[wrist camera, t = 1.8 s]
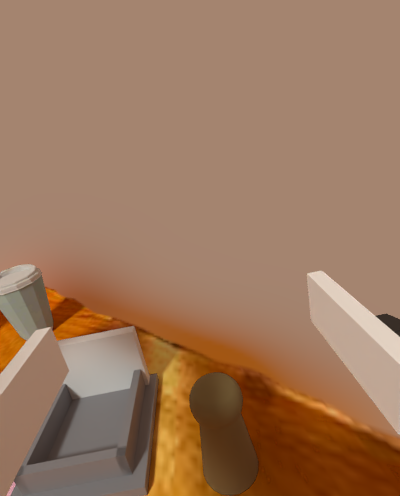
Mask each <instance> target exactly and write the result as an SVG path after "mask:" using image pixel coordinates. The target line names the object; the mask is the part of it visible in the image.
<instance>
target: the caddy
mask: <svg viewBox="0 0 400 496" xmlns="http://www.w3.org/2000/svg"><path fill="white" fill-rule="evenodd" d="M57 343H58V345H59V347H60V350H61V352H62V355H63V357H64V359H65V362H66V364H67V366H68V369H69V372H68V374H67V376H66V378H65V380H64V382H63V384H62V386H61V388H60V390H59V392H58V394H57V396H56V398H55V400H54V402H53V404H52V406H51V408H50V410H49V412H48V414H47V416H46V418H45V420H44V422H43V424H42V425H41V427H40V429H39V431H38V433H37V435H36V437H35V439H34V441H33V443H32V445H31V447H30V449H29V451H28V453H27V455H26V457H25V459H24V461H23V463H22V465H21V467H20V469H19V471H18V473H17V475H16V477H15V479H14V482H15V483H16V486H15V488H14V490H13V492H12V494H11V496H144V495H147V493H148V483H149V473H150V463H151V452H152V442H153V432H154V422H155V411H156V401H157V391H158V381H159V379H158V376H157V373H156V374H151V375H149V372H148V369H147V365H146V362H145V359H144V356H143V353H142V349H141V346H140V343H139V340H138V336H137V333H136V330H135V327H134V326H130V327H125V328H120V329H115V330H110V331H105V332H100V333H95V334H90V335H85V336H80V337H75V338H70V339H65V340H60V341H57Z"/></svg>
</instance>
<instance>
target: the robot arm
mask: <svg viewBox="0 0 400 496" xmlns="http://www.w3.org/2000/svg"><path fill="white" fill-rule="evenodd" d="M307 282H308V293H309V304H310V316H311V321H312V322H313V324H314V325H315V326H316V328H317V329H318V330H319V332H320V333H321V334H322V335H323V337H324V338H325V339H326V341H327V342H328V343H329V345H330V346H331V347H332V349H333V350H334V351H335V352H336V353H337V355H338V356H339V358H340V359H341V360H342V362H343V363H344V364H345V366H346V367H347V368H348V369H349V371H350V372H351V373H352V375H353V376H354V377H355V379H356V380H357V381H358V382H359V384H360V385H361V386H362V388H363V389H364V390H365V392H366V393H367V394H368V396H369V397H370V398H371V400H372V401H373V402H374V403H375V404H376V406H377V407H378V409H379V410H380V411H381V413H382V414H383V415H384V416H385V418H386V419H387V420H388V422H389V423H390V424H391V426H392V427H393V428H394V430H395V431H396V432H397V433H398V434H400V319H398V318H395V317H393V316H391V315H388V314H382V315H378V316H374V315H373V314H372V313H371V312H370V311H369V310H367V309H366V308H365V307H364V306H363V305H362V304H360V303H359V302H358V301H357V300H356V299H354V298H353V297H352V296H351V295H350V294H349V293H348V292H346V291H345V290H344V289H343V288H342V287H340V286H339V285H338V284H337V283H336V282H335V281H333V280H332V279H331V278H330V277H329V276H328V275H326V274H325V273H324V272H323V271H318V272H313V273H308V274H307ZM68 372H69V369H68V366H67V364H66V362H65V359H64V357H63V355H62V352H61V350H60V347H59V345H58V343H57V340H56V338H55V336H54V333H53V331H52V329H51V327H48V328H43V329H39V330H36V331H35V332H34V333H33V334H32V336H31V337H30V338H29V339H28V341H27V342H26V343H25V344H24V345H23V347H22V348H21V349H20V350H19V352H18V353H17V354H16V355H15V357H14V358H13V359H12V360H11V362H10V363H9V364H8V365H7V367H6V368H5V369H4V370H3V372H2V373H1V374H0V496H6V495H7V493H8V491H9V489H10V487H11V485H12V483H13V481H14V479H15V477H16V475H17V473H18V471H19V469H20V467H21V465H22V463H23V461H24V459H25V457H26V455H27V453H28V451H29V449H30V447H31V445H32V443H33V441H34V439H35V437H36V435H37V433H38V431H39V429H40V427H41V425H42V424H43V422H44V420H45V418H46V416H47V414H48V412H49V410H50V408H51V406H52V404H53V402H54V400H55V398H56V396H57V394H58V392H59V390H60V388H61V386H62V384H63V382H64V380H65V378H66V376H67V374H68Z"/></svg>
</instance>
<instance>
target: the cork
mask: <svg viewBox="0 0 400 496" xmlns="http://www.w3.org/2000/svg"><path fill="white" fill-rule="evenodd" d="M242 404H243V397H242V393H241V389H240V387H239V385H238V384H237V382H236V381H235V380H234V379H233V378H232V377H230V376H229V375H227V374H224V373H216V372H214V373H210V374H206V375H204V376H202V377H201V378H200V379H198V380H197V381H196V383H195V384H194V385H193V387H192V390H191V393H190V408H191V412H192V414H193V416H194V418H195V419H196V421H197V422H198V423H200V436H201V448H202V460H203V471H204V476H205V479H206V481H207V483H208V484H209V485H210V486H211V488H212V489H213V490H215V491H217V492H218V493H220V494H223V495H230V496H232V495H236V494H241V493H242V492H244V491H245V490H247V489H248V488H249V487H250V486H251V485H252V484H253V482H254V481H255V479H256V476H257V473H258V459H257V455H256V452H255V449H254V447H253V444H252V441H251V439H250V436H249V433H248V431H247V428H246V425H245V423H244V420H243V417H242V415H241V411H242Z"/></svg>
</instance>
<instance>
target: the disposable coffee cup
mask: <svg viewBox="0 0 400 496" xmlns="http://www.w3.org/2000/svg"><path fill="white" fill-rule="evenodd" d="M41 274H42V272H41V271H40V269H38V268H36V267H35V266H33V265H30V264H26V265H19V266H15V267H12V268H9V269H6V270H4V271H2V272H0V310H1V312H2V313H3V314H4V316H5V317H6V318H7V319H8V321H9V322H10V323H11V325H12V326H13V327H14V328H15V330H16V331H17V332H18V334H19V335H20V336H21V337H22V338H23V339H25V340H26V341H28V339H29V338H30V337H31V336H32V334H33V333H34V332H35V331H36V330H39V329H43V328H48V327H51V329H53V318H52V314H51V310H50V306H49V302H48V298H47V294H46V290H45V287H44V283H43V279H42V275H41Z"/></svg>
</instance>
